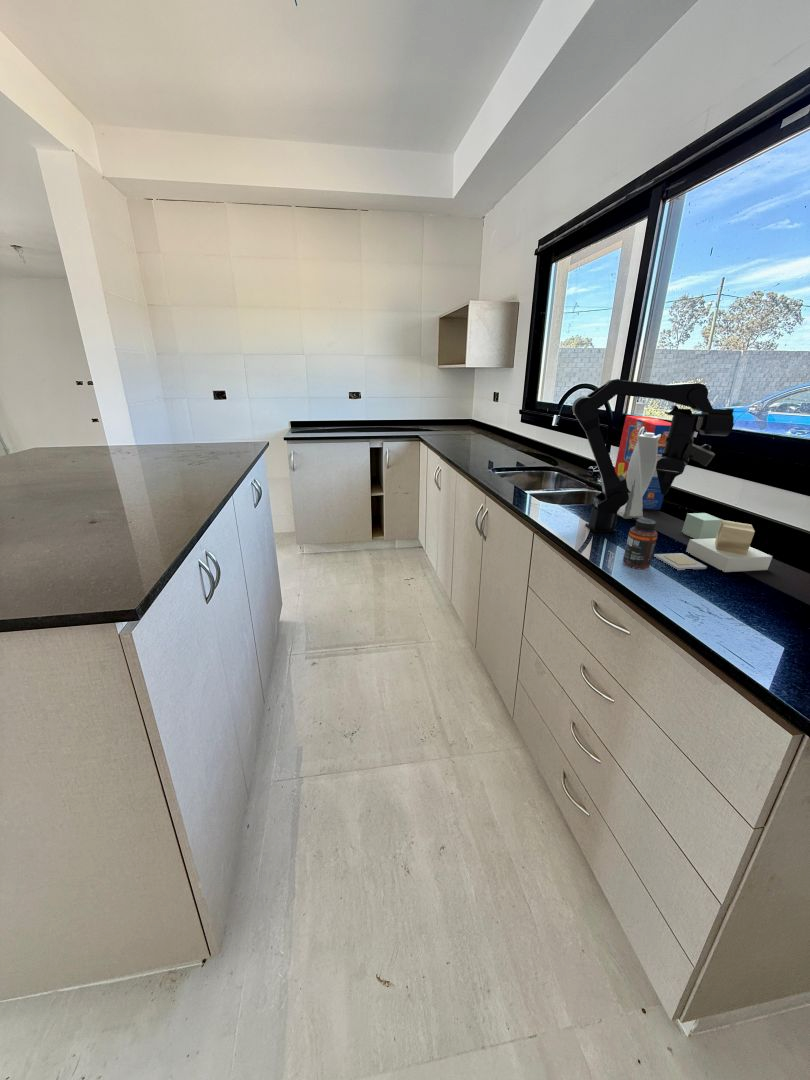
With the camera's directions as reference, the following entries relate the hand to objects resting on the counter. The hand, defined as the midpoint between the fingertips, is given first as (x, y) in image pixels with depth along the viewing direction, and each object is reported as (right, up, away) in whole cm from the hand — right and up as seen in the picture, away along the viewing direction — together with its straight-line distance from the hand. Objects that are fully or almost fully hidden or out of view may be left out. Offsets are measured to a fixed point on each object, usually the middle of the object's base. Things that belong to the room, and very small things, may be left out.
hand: (665, 491), depth 118 cm
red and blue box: (+13, +2, +41) cm, 43 cm away
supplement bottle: (-16, -20, -14) cm, 29 cm away
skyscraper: (+2, -6, +22) cm, 23 cm away
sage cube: (+13, -12, +5) cm, 19 cm away
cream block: (+9, -19, -10) cm, 23 cm away
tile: (-4, -19, -13) cm, 23 cm away
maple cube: (+8, -16, -12) cm, 22 cm away
